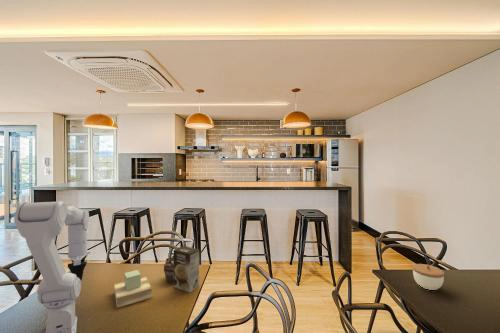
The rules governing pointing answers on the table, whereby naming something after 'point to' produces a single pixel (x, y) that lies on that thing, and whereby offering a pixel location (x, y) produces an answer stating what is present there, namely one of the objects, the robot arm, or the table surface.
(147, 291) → the birch block
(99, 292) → the table surface
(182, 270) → the coffee box
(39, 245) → the robot arm
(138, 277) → the sage cube
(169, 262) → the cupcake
